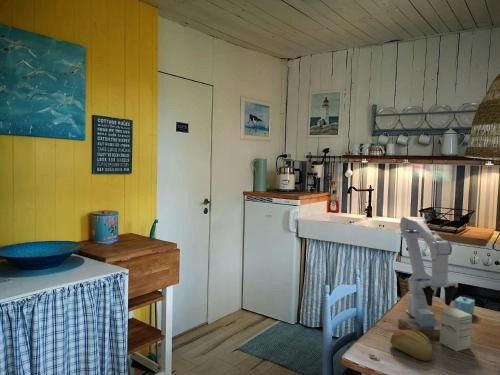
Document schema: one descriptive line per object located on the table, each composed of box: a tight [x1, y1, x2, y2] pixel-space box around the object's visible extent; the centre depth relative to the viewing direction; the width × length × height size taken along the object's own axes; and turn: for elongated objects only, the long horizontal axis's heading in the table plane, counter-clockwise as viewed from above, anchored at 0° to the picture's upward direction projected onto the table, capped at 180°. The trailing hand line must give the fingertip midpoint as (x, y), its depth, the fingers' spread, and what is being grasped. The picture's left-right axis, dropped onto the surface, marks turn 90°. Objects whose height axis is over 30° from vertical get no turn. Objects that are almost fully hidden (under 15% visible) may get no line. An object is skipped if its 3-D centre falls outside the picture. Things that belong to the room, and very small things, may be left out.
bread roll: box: [390, 328, 434, 362], centre depth 138 cm, size 10×15×8 cm, turn 41°
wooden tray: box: [397, 317, 441, 339], centre depth 156 cm, size 12×15×3 cm
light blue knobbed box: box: [453, 296, 476, 315], centre depth 173 cm, size 12×6×8 cm, turn 134°
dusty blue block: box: [415, 309, 435, 327], centre depth 155 cm, size 5×5×5 cm
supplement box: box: [439, 307, 473, 352], centre depth 144 cm, size 7×7×13 cm
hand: (438, 305), depth 156 cm, fingers open, 7 cm apart
